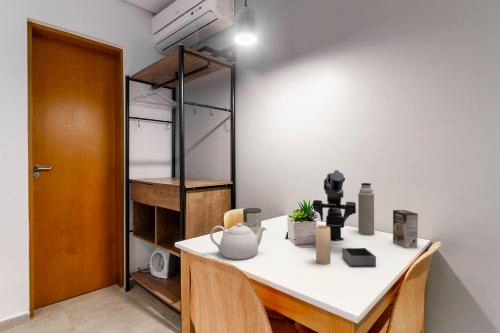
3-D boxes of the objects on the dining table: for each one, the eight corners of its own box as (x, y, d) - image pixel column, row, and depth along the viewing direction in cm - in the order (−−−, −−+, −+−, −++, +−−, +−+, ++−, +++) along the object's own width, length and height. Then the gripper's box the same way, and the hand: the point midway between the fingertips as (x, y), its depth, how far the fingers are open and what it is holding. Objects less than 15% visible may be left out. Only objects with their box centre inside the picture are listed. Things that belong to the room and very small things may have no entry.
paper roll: (313, 260, 109) (313, 226, 108) (325, 258, 111) (325, 224, 110) (321, 265, 103) (320, 229, 103) (333, 263, 105) (333, 228, 105)
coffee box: (392, 242, 130) (392, 209, 130) (404, 241, 131) (404, 209, 131) (405, 248, 121) (405, 213, 121) (418, 247, 122) (418, 213, 122)
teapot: (240, 244, 131) (239, 216, 131) (267, 253, 118) (267, 222, 118) (209, 253, 118) (208, 223, 118) (236, 265, 105) (236, 231, 105)
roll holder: (342, 257, 111) (342, 248, 111) (365, 257, 111) (365, 248, 111) (350, 267, 101) (350, 256, 101) (375, 266, 101) (375, 256, 101)
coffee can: (239, 235, 146) (239, 210, 146) (250, 231, 154) (249, 207, 154) (254, 238, 140) (254, 212, 140) (265, 233, 148) (264, 208, 148)
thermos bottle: (358, 231, 151) (357, 182, 151) (373, 232, 149) (373, 182, 148) (358, 234, 144) (358, 183, 143) (375, 236, 141) (374, 183, 140)
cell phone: (285, 240, 138) (285, 238, 138) (287, 232, 151) (287, 231, 151) (299, 240, 136) (299, 239, 136) (300, 233, 150) (300, 232, 150)
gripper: (313, 183, 125) (308, 210, 115) (355, 184, 117) (353, 213, 108) (316, 197, 132) (312, 224, 123) (356, 199, 125) (355, 228, 115)
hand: (332, 222), depth 117 cm, fingers open, 9 cm apart
